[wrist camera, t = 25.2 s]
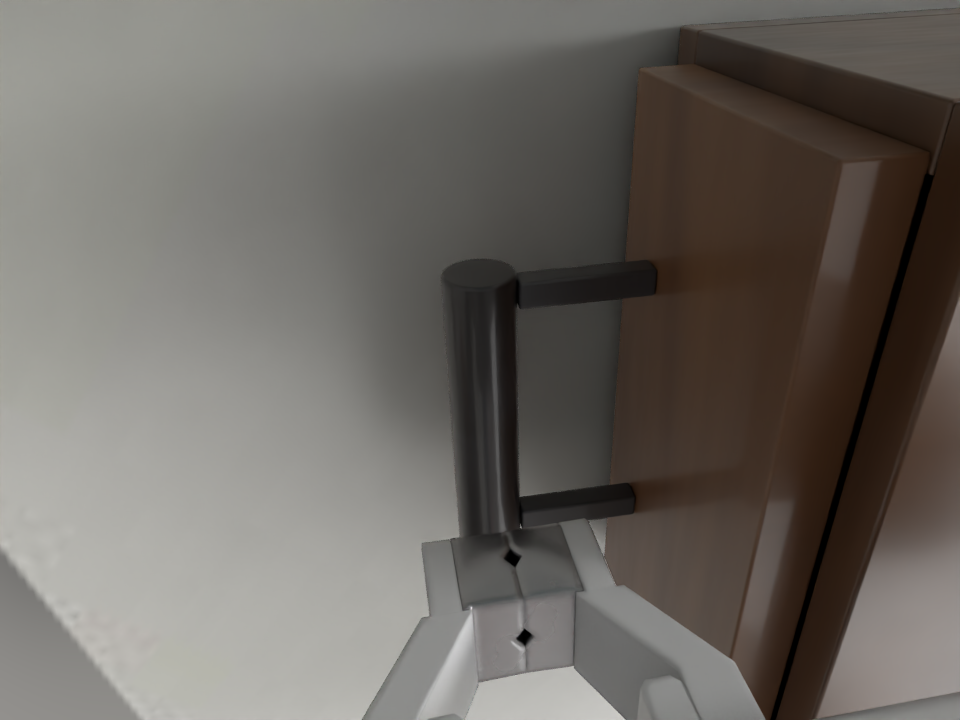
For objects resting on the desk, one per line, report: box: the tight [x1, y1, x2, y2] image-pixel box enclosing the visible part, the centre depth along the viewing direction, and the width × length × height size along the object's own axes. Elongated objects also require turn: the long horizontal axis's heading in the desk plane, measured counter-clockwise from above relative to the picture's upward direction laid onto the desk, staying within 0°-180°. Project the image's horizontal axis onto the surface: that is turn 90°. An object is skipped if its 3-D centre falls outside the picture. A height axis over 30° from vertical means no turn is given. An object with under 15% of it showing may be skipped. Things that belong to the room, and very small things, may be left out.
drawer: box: [441, 64, 933, 720], centre depth 15 cm, size 19×14×7 cm
